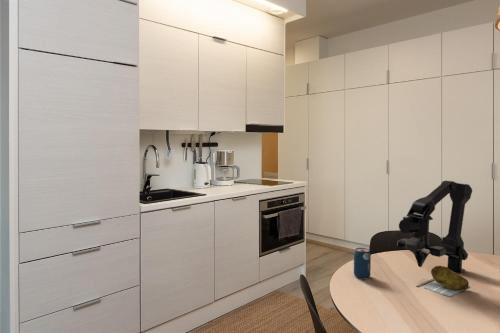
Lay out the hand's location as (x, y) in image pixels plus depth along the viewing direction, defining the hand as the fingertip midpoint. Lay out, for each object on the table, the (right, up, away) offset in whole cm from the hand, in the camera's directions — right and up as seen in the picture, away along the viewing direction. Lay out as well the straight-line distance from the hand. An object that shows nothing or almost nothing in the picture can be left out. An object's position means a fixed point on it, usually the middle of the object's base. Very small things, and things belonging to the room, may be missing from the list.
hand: (420, 266), depth 156 cm
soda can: (-24, -5, +3) cm, 25 cm away
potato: (+7, -6, -10) cm, 13 cm away
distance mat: (+7, -6, -9) cm, 13 cm away
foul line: (+2, -6, -3) cm, 7 cm away
